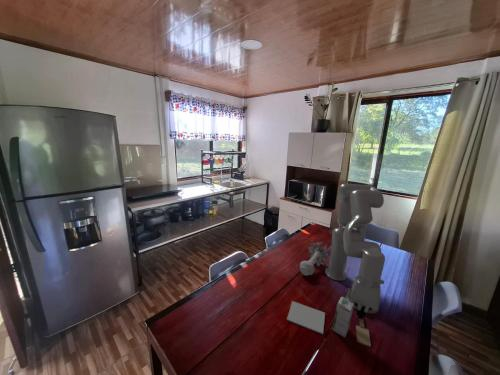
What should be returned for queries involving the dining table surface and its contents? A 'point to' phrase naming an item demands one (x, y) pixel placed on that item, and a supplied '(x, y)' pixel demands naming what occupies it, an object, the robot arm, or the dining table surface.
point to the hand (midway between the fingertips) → (360, 316)
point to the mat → (306, 317)
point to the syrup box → (343, 316)
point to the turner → (362, 334)
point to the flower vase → (313, 259)
